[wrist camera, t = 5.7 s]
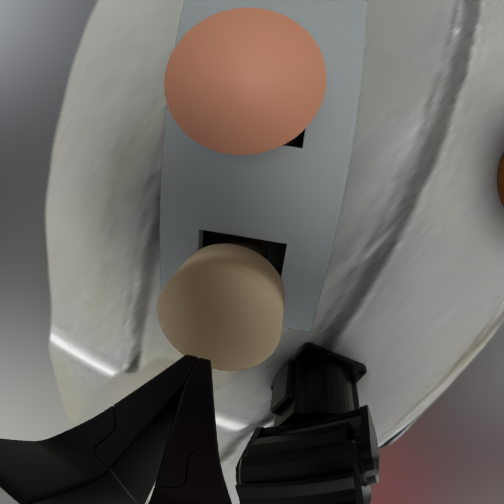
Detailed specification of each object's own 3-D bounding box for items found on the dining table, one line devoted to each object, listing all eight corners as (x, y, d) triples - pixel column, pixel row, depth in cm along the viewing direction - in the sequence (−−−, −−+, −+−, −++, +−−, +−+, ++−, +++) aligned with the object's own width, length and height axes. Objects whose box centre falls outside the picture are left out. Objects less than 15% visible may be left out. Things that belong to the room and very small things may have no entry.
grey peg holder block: (353, -30, 11) (365, -66, 7) (308, 289, 21) (310, 331, 16) (225, -41, 12) (205, -76, 7) (188, 267, 22) (161, 302, 17)
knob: (295, 221, 17) (293, 281, 10) (281, 296, 19) (270, 379, 12) (209, 207, 17) (155, 255, 11) (204, 282, 19) (161, 355, 13)
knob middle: (318, 66, 13) (333, 16, 6) (306, 153, 15) (314, 166, 9) (226, 57, 14) (176, 10, 7) (215, 141, 16) (157, 148, 9)
